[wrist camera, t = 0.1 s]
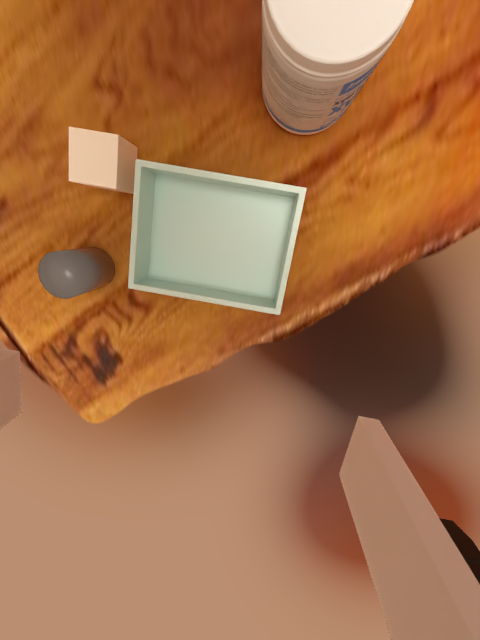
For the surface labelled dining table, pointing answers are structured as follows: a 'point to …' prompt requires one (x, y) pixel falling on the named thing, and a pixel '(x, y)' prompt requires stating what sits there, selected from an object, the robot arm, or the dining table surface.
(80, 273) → the charcoal cylinder
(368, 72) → the supplement tub
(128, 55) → the dining table surface
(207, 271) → the teal tote
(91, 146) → the tan cube
